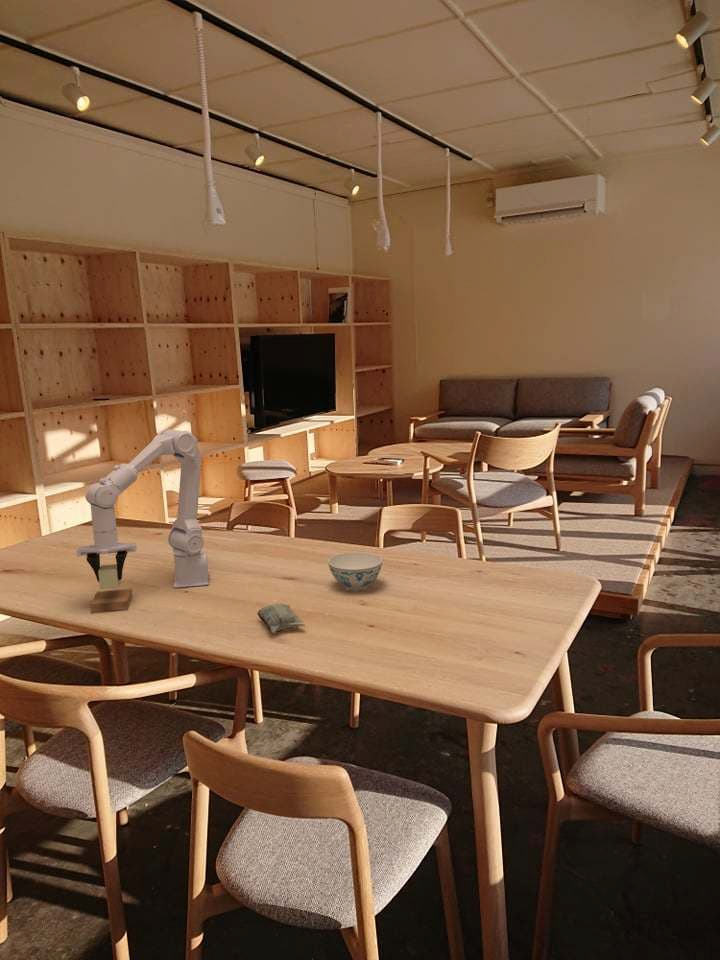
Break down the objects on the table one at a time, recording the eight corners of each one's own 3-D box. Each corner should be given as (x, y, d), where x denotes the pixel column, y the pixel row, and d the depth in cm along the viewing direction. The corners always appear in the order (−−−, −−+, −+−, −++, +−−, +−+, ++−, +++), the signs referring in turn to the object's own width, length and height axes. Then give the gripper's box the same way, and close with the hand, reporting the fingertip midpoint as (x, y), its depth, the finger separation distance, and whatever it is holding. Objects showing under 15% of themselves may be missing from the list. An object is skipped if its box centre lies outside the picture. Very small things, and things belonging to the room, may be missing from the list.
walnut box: (132, 599, 189) (131, 588, 189) (128, 611, 181) (127, 601, 180) (98, 602, 188) (97, 591, 187) (91, 615, 179) (90, 604, 179)
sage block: (120, 581, 186) (119, 564, 185) (118, 587, 181) (116, 569, 180) (103, 583, 185) (101, 565, 184) (100, 589, 181) (98, 570, 180)
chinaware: (320, 583, 197) (319, 557, 195) (367, 574, 203) (366, 548, 202) (343, 600, 184) (342, 572, 182) (393, 590, 190) (392, 563, 189)
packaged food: (290, 614, 176) (289, 596, 174) (305, 632, 165) (304, 613, 164) (256, 621, 172) (255, 602, 171) (270, 640, 162) (269, 620, 160)
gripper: (71, 535, 175) (77, 587, 178) (132, 531, 177) (136, 582, 180) (77, 528, 182) (83, 578, 184) (135, 524, 184) (140, 573, 187)
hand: (109, 579), depth 183 cm, fingers closed on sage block, 4 cm apart
